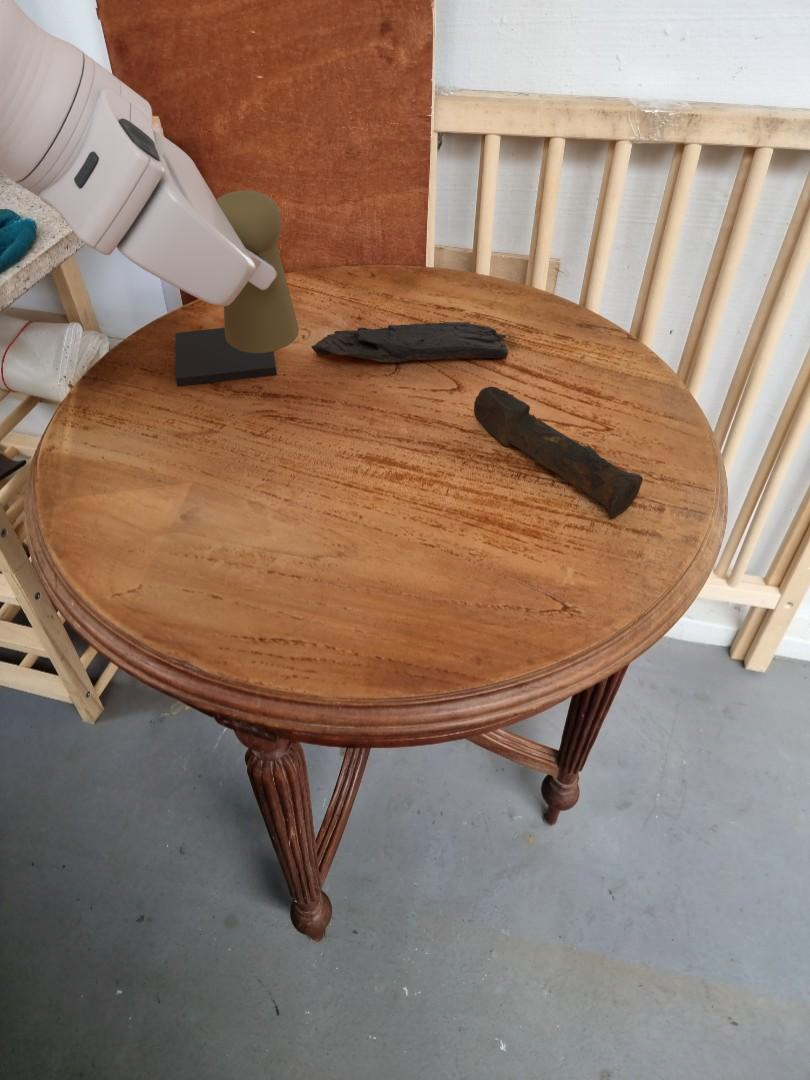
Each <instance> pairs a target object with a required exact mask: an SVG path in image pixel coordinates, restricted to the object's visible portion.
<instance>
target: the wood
mask: <svg viewBox="0 0 810 1080" xmlns="http://www.w3.org/2000/svg"><path fill="white" fill-rule="evenodd" d="M505 338H507V335H506V334H500V333H498V332H497V330H496V329H495V328H494V329H493V327H490V326H485V325H481V324H474V323H471V322H470V321H456V322H455V321H451V322H448V321H447V322H432V323H431V322H429V323H428V322H423V323H410V324H403V323H402V324H388V326H387V327H381V328H367V327H357V329H356V330H350V329H348V330H347V329H346V330H336V331H333V333H329V334H327V335H326V336H325V337H323V338H322V339H321V340H319V341H317V342H316V343H315V344H314V345H311V346H310V347H311V349H312V350H313V351H314V353H315V354H316V355H317V356H320V357H324V356H326V357H327V356H330V355H333V356H335V357H343V356H347V357H353V358H359V359H364V360H371V361H375V362H379V363H385V362H386V363H400V362H408V361H409V362H410V361H420V360H421V361H422V360H428V361H432V360H436V361H439V360H442V361H446V360H464V359H503V358H504V359H506V358H507V357H508V355H509V349H508V348H507V344H506V343H503V342H500V341H503V340H504V339H505Z"/></svg>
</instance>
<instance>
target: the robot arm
mask: <svg viewBox="0 0 810 1080" xmlns="http://www.w3.org/2000/svg"><path fill="white" fill-rule="evenodd" d="M152 125H153V109H152V106H151V104H150V103H149V101H148V100H146V99H145V98H144V97H143V96H142V95H140V94H139V93H137V92H136V91H135V90H133V89H132V88H130V86H129V85H126V84H125V82H123V81H121V79H119V78H118V77H117V76H115V75H114V74H113V73H112V72H110V70H108V69H106V68H105V67H104V66H102V64H100V63H98V62H97V61H96V60H95V59H93V58H92V57H90V56H89V55H88V54H86V53H85V52H84V51H83V50H82V49H80V48H79V47H78V46H76V45H74V44H73V43H71V42H69V41H66V40H64V39H62V38H59V37H57V36H55V35H52V34H51V33H49V32H47V31H45V30H44V29H43V28H42V27H40V26H39V25H37V24H36V23H35V21H33V20H32V18H30V17H29V16H28V15H27V14H26V13H25V11H23V10H22V8H21V7H20V6H19V4H18V3H17V2H16V1H15V0H0V173H1V174H3V175H4V176H6V177H7V178H9V179H10V180H11V181H12V182H14V183H16V184H17V185H18V186H21V188H23V189H25V190H27V191H29V192H30V193H32V194H33V195H35V196H37V197H38V198H39V199H40V200H41V201H42V202H43V203H45V204H46V205H48V206H49V207H50V208H52V209H54V210H55V212H56V213H58V214H59V215H60V217H61V218H62V220H63V221H65V223H66V224H67V225H68V226H69V228H70V229H71V230H72V232H73V233H74V235H75V236H76V237H77V238H78V240H80V241H81V242H82V243H83V244H85V245H86V246H88V247H89V248H90V249H92V250H94V251H96V252H98V253H100V254H102V255H104V256H110V255H111V254H112V253H113V252H114V250H115V249H117V250H118V251H119V253H121V254H122V255H123V256H124V257H125V258H127V259H128V260H129V261H130V262H132V263H133V264H135V265H136V266H138V267H139V268H140V269H142V270H144V271H146V272H148V273H149V274H151V275H152V276H155V277H156V278H158V279H160V280H162V281H164V282H166V283H167V284H170V285H171V286H173V287H175V288H177V289H179V290H181V291H183V292H184V293H186V294H188V295H190V296H192V297H194V298H196V299H199V300H200V301H202V302H205V303H207V304H209V305H213V306H219V307H224V306H228V305H230V304H231V303H232V302H233V301H234V300H235V298H236V297H237V296H238V295H239V293H240V292H241V291H242V289H243V288H244V287H245V285H246V284H247V282H250V283H251V284H253V285H254V286H256V287H258V288H259V289H261V290H265V289H267V288H268V287H269V286H270V285H271V283H272V282H273V281H274V279H275V278H276V276H277V273H276V271H275V269H274V268H273V266H272V265H271V263H270V262H269V261H268V260H266V259H264V258H263V257H262V256H260V255H259V254H257V253H252V252H250V251H249V250H247V249H246V248H245V247H244V245H243V244H242V242H241V240H240V239H239V237H238V235H237V234H236V232H235V230H234V229H233V227H232V225H231V224H230V222H229V220H228V219H227V217H226V215H225V214H224V212H223V211H222V209H221V208H220V206H219V204H218V203H217V198H216V197H215V196H214V193H213V192H212V190H211V189H210V187H209V186H208V184H207V182H206V181H205V179H204V177H203V175H202V173H201V172H200V170H199V169H198V167H197V165H196V163H195V162H194V160H193V159H192V158H191V157H190V156H189V155H188V154H187V153H186V152H185V151H184V150H183V149H181V148H180V147H179V146H178V145H177V144H175V143H174V142H172V141H171V140H169V139H168V138H166V137H165V136H164V135H162V134H161V133H159V132H158V131H157V130H155V129H154V128H153V126H152Z"/></svg>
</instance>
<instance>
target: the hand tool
mask: <svg viewBox="0 0 810 1080" xmlns="http://www.w3.org/2000/svg"><path fill="white" fill-rule="evenodd" d="M530 410H531V406H530V405H529V404H528V403H526V402H525V401H523V400H520V399H519V398H517V397H516V396H515V395H514V394H512V393H509V392H508V391H507V390H504V389H500V388H499V387H497V386H488V387H487V386H486V387H484V388H482V389H481V390H480V391H479V392H478V394H477V396H476V397H475V399H474V404H473V414H474V416H475V419H476V420H477V421H478V422H479V424H481V425H482V426H483V428H484V430H486V431H487V432H488V433H490V434H491V435H492V436H493V437H494V438H495V439H497V440H498V442H500V443H501V444H502V446H504V447H508V448H512V447H515V448H517V449H518V450H521V451H522V452H524V453H525V454H526V455H527V456H528V457H530V458H532V460H534V461H536V463H538V464H539V465H540V466H542V467H544V468H547V469H548V470H550V471H552V473H555V474H556V475H558V476H559V477H560V478H562V479H563V480H564V481H565V482H567V483H569V484H570V485H572V486H573V487H574V488H576V489H577V490H579V491H582V493H584V494H586V495H587V496H589V497H590V498H592V499H593V500H595V501H597V502H599V503H600V504H601V505H603V506H604V507H605V508H606V510H607V513H608V517H610V519H615V518H617V516H619V515H621V514H623V513H624V512H625V511H626V510H628V509H629V507H630V506H631V505H632V504H633V502H634V500H635V499H636V498H637V496H638V494H639V493H640V490H641V486H642V484H643V482H644V481H643V479H644V477H643V476H642V475H640V474H637V473H633V472H629V471H626V470H624V469H621V468H620V467H618V466H616V465H614V464H613V463H612V462H610V461H608V460H607V459H605V458H603V457H602V456H600V455H599V454H598V453H597V452H596V450H595V449H593V448H592V446H590V445H582V444H581V443H579V442H577V441H575V440H573V439H572V438H571V437H569V436H567V435H565V434H564V433H562V432H561V431H560V430H557V429H556V428H554V427H553V426H550V425H549V424H547V423H546V422H544V421H542V419H539V418H537V417H536V415H535V414H531V413H530Z"/></svg>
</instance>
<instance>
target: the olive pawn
mask: <svg viewBox="0 0 810 1080" xmlns="http://www.w3.org/2000/svg"><path fill="white" fill-rule="evenodd" d="M216 200H217V203H218V204H219V206H220V208H221V209H222V211H223V212H224V214H225V215H226V217H227V219H228V220H229V222H230V224H231V225H232V227H233V229H234V230H235V232H236V234H237V235H238V237H239V239H240V240H241V242H242V244H243V245H244V247H245V248H246V249H247V250H249V251H250V252H252V253H257V254H259V255H260V256H262V257H263V258H264V259H266V260H268V261H269V262H270V263H271V265H272V266H273V268H274V269H275V271H276V273H277V276H276V278H275V279H274V281H273V282H272V283H271V285H270V286H269V287H268V288H267V289H265V290H261V289H259V288H258V287H256V286H254V285H253V284H251V283H250V282H247V284H246V285H245V287H244V288H243V289H242V291H241V292H240V293H239V295H238V296H237V297H236V298H235V300H234V301H233V302H232V303H231V304H230V305H228V306H223V321H224V323H223V325H224V328H225V337H226V341H227V342H228V343H229V344H230V345H231V346H232V347H234V348H236V349H238V350H240V351H244V352H249V353H266V352H272V351H273V352H276V351H279V350H281V349H285V348H286V347H288V346H289V345H291V344H293V343H294V341H295V340H296V339H297V338H298V337H299V332H300V327H299V323H298V320H297V316H296V313H295V308H294V305H293V302H292V296H291V293H290V290H289V289H290V288H289V286H288V281H287V277H286V274H285V269H284V266H283V262H282V259H281V255H280V251H279V247H278V242H277V241H278V239H279V238H280V236H281V231H282V225H283V223H282V215H281V213H280V210H279V206H278V205H277V203H276V202H275V201H274V199H273V198H271V197H270V196H269V195H268V194H265V193H263V192H260V191H255V190H235V191H231V192H228V193H225V194H223V195H221V196H219V197H218V198H216Z"/></svg>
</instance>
